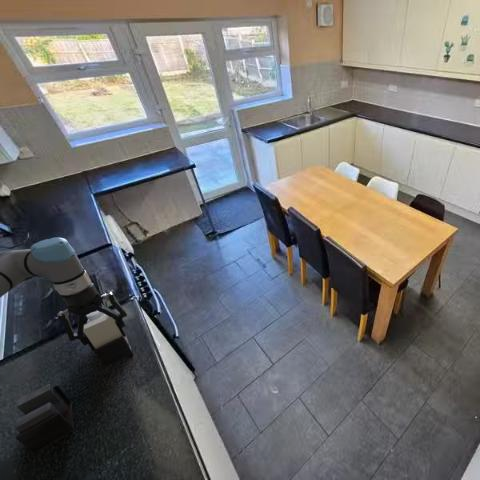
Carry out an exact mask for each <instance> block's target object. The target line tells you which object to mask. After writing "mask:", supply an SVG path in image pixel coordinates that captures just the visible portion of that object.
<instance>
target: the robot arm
mask: <svg viewBox="0 0 480 480" xmlns="http://www.w3.org/2000/svg"><path fill="white" fill-rule="evenodd" d="M43 276H45V277H47V278H48V280H49V281H50V283H51V284H52V285H53V287H54V288H55V290H56V291H57V293H58V294H59V295H60V298H61V300H63V302H64V303H65V305H66V307H67V308H66V309H64V310H60V311H58V312H57V319H58V320H59V321H60V322H61V323H62V325H63V327H64V330H65V332H66V334H67V337H68V341H70V342H73V341H75V340H79V341H80V342H81V344H82V345H83V346H89V347H90V349H91V350H92V352H93V353H95V352H94V349H95V347H94V346H93V344H92V343H91V342H90V340H89V339H88V337H87V336H86V334H85V333H84V331H83V330H84V325H85V317H87V316H86V315H88V314H90V313H92V312H96V311H99V312H102V313H104V314H106V315H107V316H109V317H112V318H113V319H114V320H115V323H116V325H117V327H118V329H119V330H120V332H121V334H122V335H123V337H125V336H126V335H127V334H126V332H125V330H124V328H125V327H126V324H125V321H124V320H123V319H124V318H126V317H127V316H128V313H127V311H126V310H125V308H124V307H123V306H122V305H121V304H120V303H119V302H118V300H117V299H116V298H115V295H114V293H113V291H107V293H105V294H101V293H100V292H98V290H97V288H96V286H95V285H94V283H93V282H92V280H91V278H90V276H89V274H88V272H87V271H86V269H85V268H84V267H83V265H82V263H81V261H80V259H79V256H78V255H77V253H76V251H75V249H74V248H73V246H72V245H71V244H70V243H69V241H68V240H67V239H66V238H63V237H51V238H48V239H43V240H40V241H38V242H35V243H34V244H33V245H31V247H30V248H29V249H27V248H26V249H11V250H4V251H0V298H2V297H3V296H5V295H6V294H7V293H9V292H10V291H12V290H13V289H15V287H17V286H18V285H20V284H21V283H23V282H24V281H25V280H26V279H28V278H36V277H43ZM103 300H105V301H107V302H110V304H111V305H112V306H113V307H114V309H115V310H117V312H116V311H115V310H113V309H111V308H109V307H107V306H106V305H104V304H103ZM70 314H74V315H77V332H75V331H74V329H73V326H72V324H71V321H70V319H69V317H70Z"/></svg>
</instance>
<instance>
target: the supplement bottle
mask: <svg viewBox="0 0 480 480" xmlns="http://www.w3.org/2000/svg"><path fill="white" fill-rule="evenodd" d="M103 316H106V314H104V313H102V312H99V311H96V312H92V313H90V314H88V315H86V316H85V317H86V318H87V321H86V324H87V323H89V322H92V321H94V320H96V319H99V318H101V317H103Z"/></svg>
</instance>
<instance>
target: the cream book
mask: <svg viewBox="0 0 480 480" xmlns="http://www.w3.org/2000/svg"><path fill="white" fill-rule="evenodd" d="M83 331H84V333H85V334H86V336H87V337H88V339H89V340H90V342H91V343H92V344H93V346H94V347H95V349H96V348H98V347H100V346H102V345H104V344H106V343H108V342H110V341H112V340H115V339H117V338H119V337H121V336H123V335H122V334H121V332H120V330H119V329H118V327H117V325H116V323H115V320H114V319H113V318H112V317H109V316H107V315H106V316H103V317H101V318H99V319H96V320H94V321H92V322H89V323H87V322H86V323H84V330H83Z"/></svg>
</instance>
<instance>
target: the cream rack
mask: <svg viewBox="0 0 480 480" xmlns="http://www.w3.org/2000/svg"><path fill="white" fill-rule="evenodd" d="M93 353H95V355H96V356H97V358H98V359H99V361H100V362H101V363H102V365H103V367H104V368H106V367H108V366H110V365H112V364H114V363H116V362H118V361H120V360H121V359H124V358H125V357H129V358H130V357H132V356H133V355H134V352H133V349H132V347H131V343H130V340H129V339H128V336H127V334H126V336H125V337H123V336H121V337H119V338H117V339H115V340H112V341H110V342H108V343H106V344H104V345H102V346H100V347H98V348H96V349H94V352H93Z"/></svg>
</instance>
